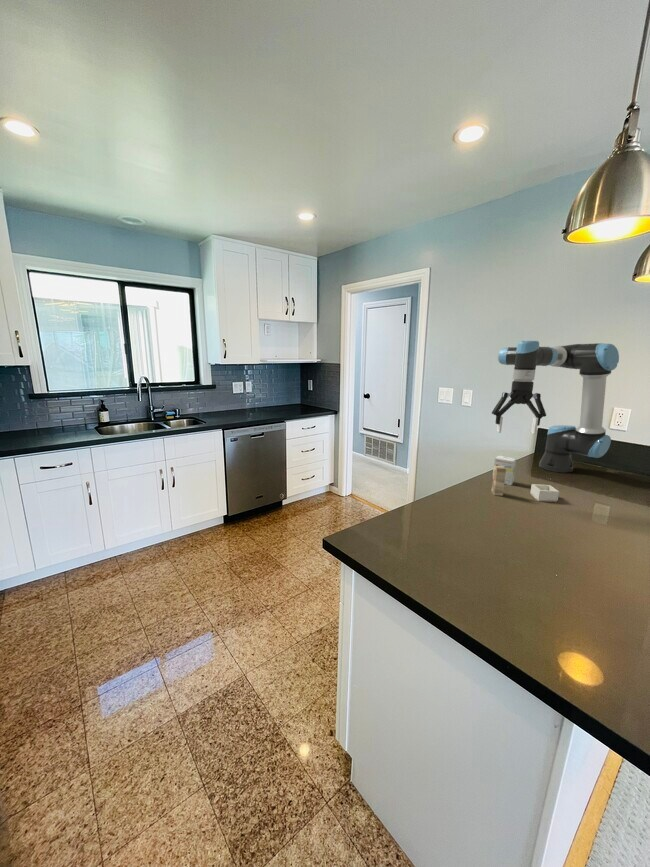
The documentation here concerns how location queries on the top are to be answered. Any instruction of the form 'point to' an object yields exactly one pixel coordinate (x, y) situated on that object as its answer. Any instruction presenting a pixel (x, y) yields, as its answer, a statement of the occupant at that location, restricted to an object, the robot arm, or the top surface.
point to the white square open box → (544, 493)
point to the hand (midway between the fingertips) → (516, 432)
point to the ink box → (508, 464)
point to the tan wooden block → (498, 480)
